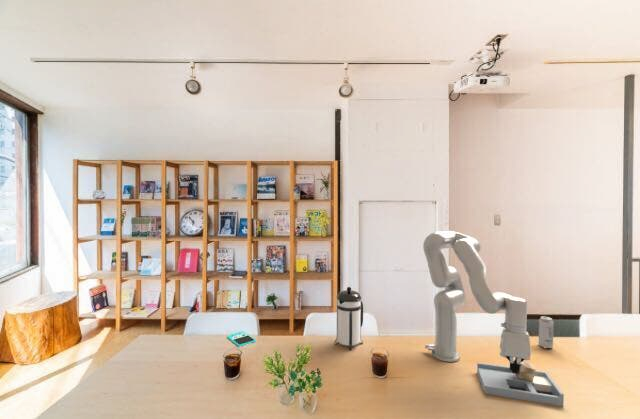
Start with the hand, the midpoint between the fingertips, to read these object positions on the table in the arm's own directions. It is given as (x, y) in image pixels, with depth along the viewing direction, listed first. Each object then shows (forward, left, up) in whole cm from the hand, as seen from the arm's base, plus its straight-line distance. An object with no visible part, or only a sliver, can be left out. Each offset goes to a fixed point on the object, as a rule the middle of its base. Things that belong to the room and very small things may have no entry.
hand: (514, 371), depth 131 cm
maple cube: (+4, 0, -1) cm, 4 cm away
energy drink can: (+25, +42, -5) cm, 49 cm away
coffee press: (-72, +16, -5) cm, 74 cm away
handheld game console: (-128, +3, -6) cm, 129 cm away
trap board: (0, -4, -5) cm, 6 cm away
